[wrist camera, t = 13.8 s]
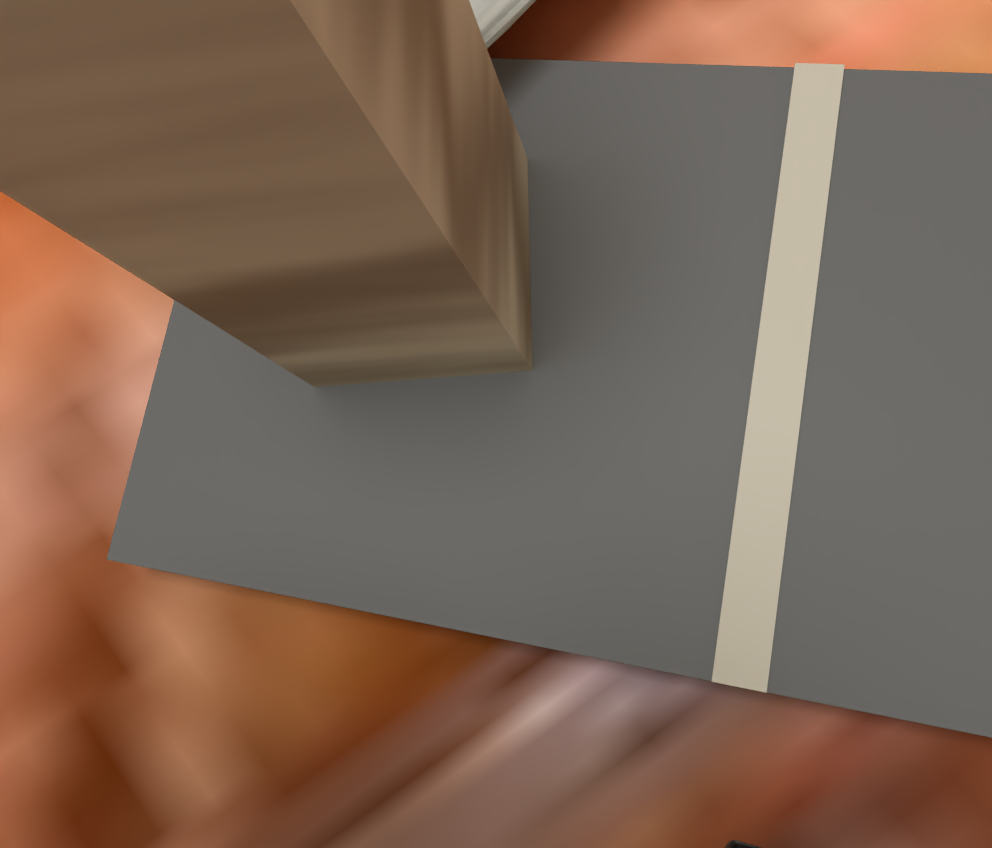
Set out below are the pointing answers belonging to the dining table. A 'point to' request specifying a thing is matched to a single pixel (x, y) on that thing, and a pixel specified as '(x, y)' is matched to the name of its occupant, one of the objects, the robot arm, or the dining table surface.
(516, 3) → the square plate
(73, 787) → the dining table surface
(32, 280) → the dining table surface
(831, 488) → the charcoal board
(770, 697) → the dining table surface
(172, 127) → the birch post
